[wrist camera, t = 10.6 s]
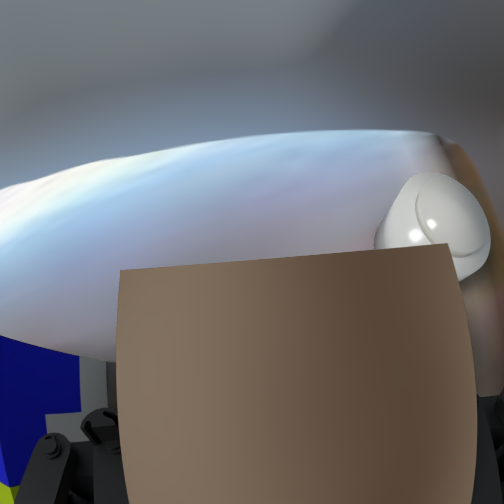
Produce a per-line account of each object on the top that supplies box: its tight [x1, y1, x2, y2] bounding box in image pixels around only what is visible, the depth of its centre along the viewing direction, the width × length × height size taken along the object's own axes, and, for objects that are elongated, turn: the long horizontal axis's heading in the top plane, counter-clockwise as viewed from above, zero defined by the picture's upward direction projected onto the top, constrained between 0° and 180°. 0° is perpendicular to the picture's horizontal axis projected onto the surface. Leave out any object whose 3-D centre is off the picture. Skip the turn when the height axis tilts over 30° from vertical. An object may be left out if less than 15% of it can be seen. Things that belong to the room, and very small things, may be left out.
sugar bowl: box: [374, 172, 491, 282], centre depth 16 cm, size 7×7×6 cm
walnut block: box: [116, 243, 477, 504], centre depth 9 cm, size 6×6×12 cm
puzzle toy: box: [0, 335, 108, 504], centre depth 10 cm, size 10×10×10 cm
